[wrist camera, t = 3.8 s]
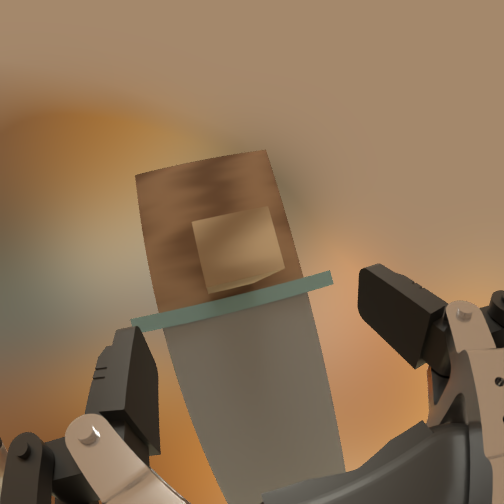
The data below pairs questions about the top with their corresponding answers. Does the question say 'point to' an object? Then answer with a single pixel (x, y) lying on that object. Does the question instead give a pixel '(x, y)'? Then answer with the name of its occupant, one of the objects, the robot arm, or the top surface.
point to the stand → (256, 387)
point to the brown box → (215, 230)
